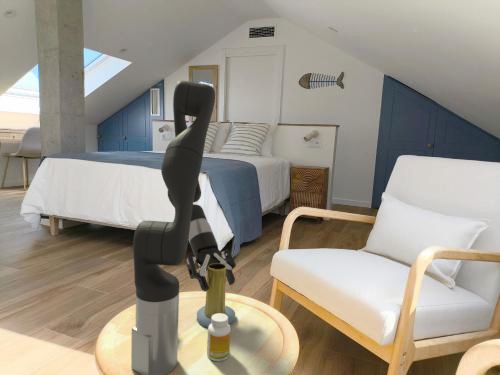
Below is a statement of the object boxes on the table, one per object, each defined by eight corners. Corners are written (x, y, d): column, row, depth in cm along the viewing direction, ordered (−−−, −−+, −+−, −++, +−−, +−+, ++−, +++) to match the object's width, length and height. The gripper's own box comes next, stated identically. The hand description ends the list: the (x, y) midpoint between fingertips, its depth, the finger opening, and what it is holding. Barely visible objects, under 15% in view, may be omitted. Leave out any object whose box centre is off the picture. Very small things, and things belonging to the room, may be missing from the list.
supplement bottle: (233, 357, 84) (235, 319, 82) (213, 364, 81) (214, 325, 79) (222, 345, 88) (224, 309, 87) (203, 351, 85) (204, 314, 84)
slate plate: (216, 333, 93) (217, 328, 93) (188, 318, 100) (188, 313, 100) (242, 317, 102) (242, 313, 102) (215, 305, 109) (215, 300, 108)
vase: (227, 309, 104) (229, 263, 101) (223, 319, 98) (225, 271, 95) (206, 307, 104) (208, 261, 102) (202, 317, 98) (203, 269, 96)
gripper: (184, 233, 99) (202, 287, 92) (226, 228, 108) (246, 276, 100) (175, 246, 104) (192, 298, 97) (216, 240, 113) (234, 287, 105)
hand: (219, 287), depth 99 cm, fingers open, 8 cm apart
